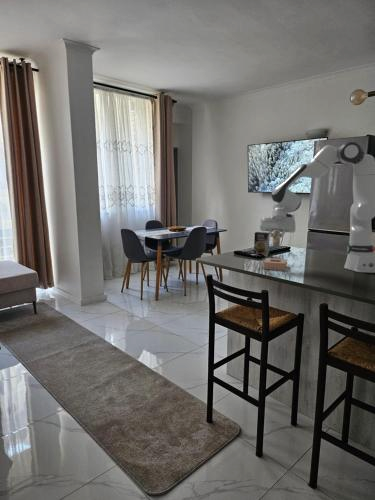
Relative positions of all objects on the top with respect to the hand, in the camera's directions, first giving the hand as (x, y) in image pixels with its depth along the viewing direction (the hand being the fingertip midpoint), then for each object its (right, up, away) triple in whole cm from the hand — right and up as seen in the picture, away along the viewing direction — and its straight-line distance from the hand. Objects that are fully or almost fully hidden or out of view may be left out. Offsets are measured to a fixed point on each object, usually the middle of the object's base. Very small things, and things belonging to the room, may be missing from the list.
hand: (276, 236), depth 198 cm
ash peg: (0, -5, +2) cm, 5 cm away
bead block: (0, -18, +4) cm, 18 cm away
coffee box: (-1, -12, +37) cm, 39 cm away
